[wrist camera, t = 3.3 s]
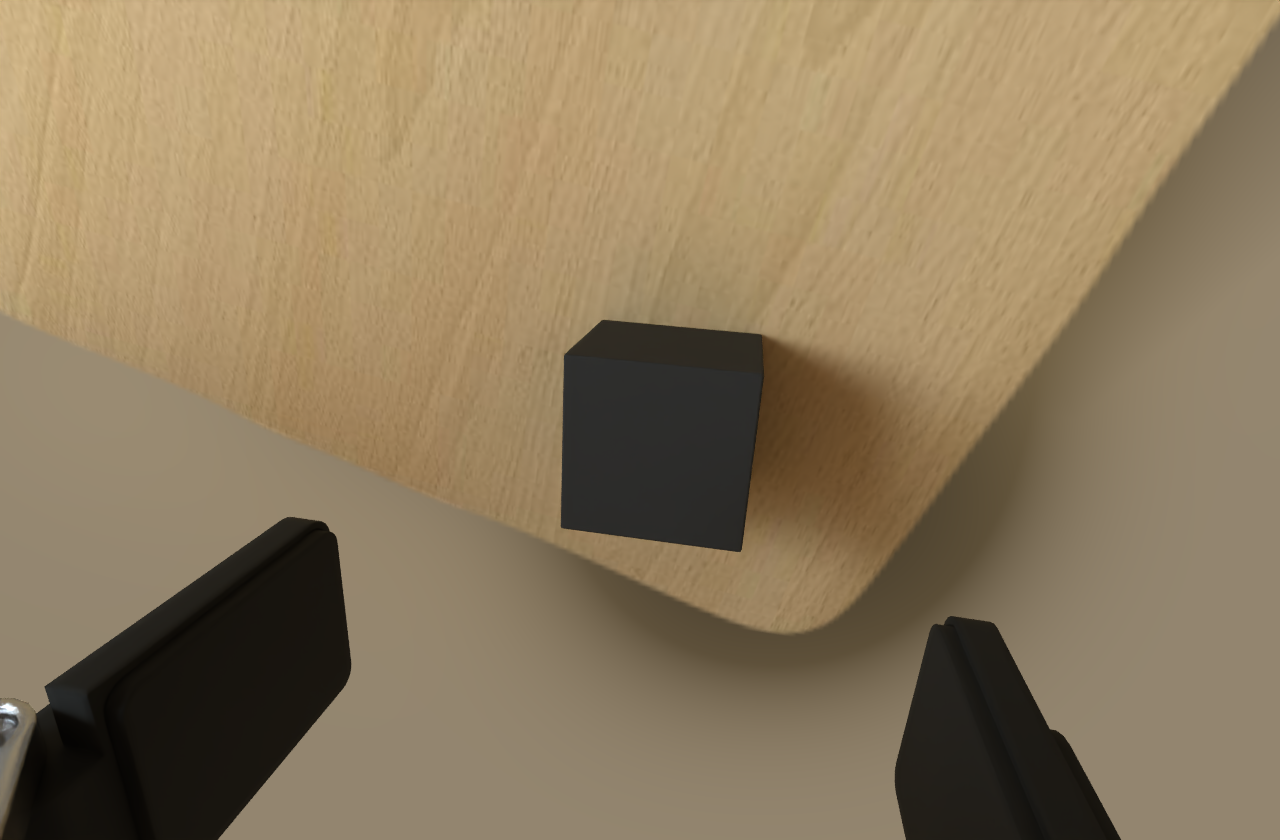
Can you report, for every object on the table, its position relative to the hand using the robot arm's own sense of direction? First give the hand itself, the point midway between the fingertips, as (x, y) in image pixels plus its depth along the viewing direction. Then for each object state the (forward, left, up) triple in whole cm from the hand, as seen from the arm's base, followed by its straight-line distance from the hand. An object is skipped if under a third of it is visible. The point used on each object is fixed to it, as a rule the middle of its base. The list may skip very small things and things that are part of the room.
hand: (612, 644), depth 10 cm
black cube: (0, 0, -12) cm, 12 cm away
